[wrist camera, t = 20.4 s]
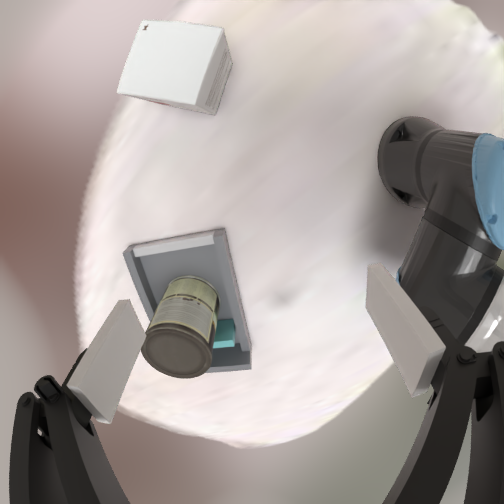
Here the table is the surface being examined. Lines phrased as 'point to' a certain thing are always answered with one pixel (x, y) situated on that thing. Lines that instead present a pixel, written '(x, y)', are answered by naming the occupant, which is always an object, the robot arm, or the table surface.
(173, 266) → the lane
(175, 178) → the table surface
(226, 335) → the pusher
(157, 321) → the coffee can
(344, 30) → the table surface
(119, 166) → the table surface
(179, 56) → the supplement box
